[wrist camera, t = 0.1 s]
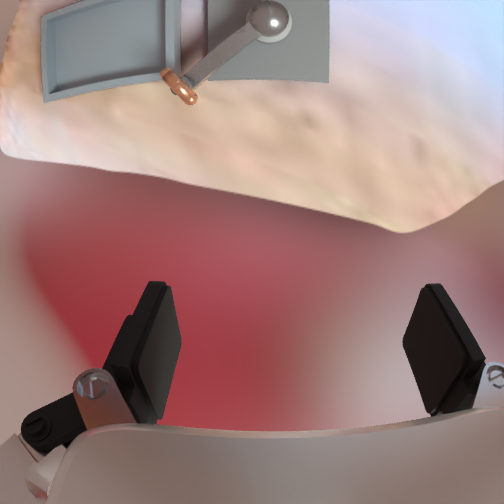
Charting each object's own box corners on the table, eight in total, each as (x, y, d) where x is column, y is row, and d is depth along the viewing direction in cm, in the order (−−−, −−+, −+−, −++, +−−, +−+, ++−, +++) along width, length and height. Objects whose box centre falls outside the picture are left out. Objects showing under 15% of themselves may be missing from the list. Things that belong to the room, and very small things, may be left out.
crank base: (209, -22, 27) (205, -29, 24) (327, -20, 27) (331, -27, 24) (209, 80, 34) (205, 80, 32) (327, 82, 34) (331, 82, 31)
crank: (268, -5, 26) (268, -17, 21) (298, 27, 28) (303, 18, 23) (168, 76, 31) (153, 76, 27) (196, 106, 33) (186, 110, 28)
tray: (53, 17, 28) (41, 16, 26) (180, -15, 27) (174, -22, 25) (55, 100, 35) (43, 102, 32) (181, 78, 34) (174, 78, 32)
